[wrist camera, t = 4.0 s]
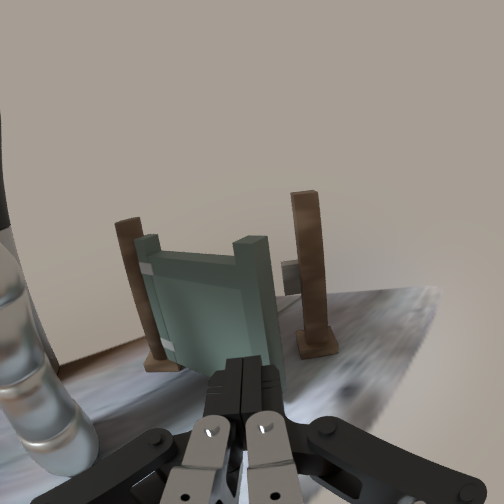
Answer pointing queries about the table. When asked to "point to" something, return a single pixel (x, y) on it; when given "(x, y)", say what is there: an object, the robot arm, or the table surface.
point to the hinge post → (142, 296)
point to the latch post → (309, 277)
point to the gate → (213, 304)
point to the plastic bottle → (37, 386)
